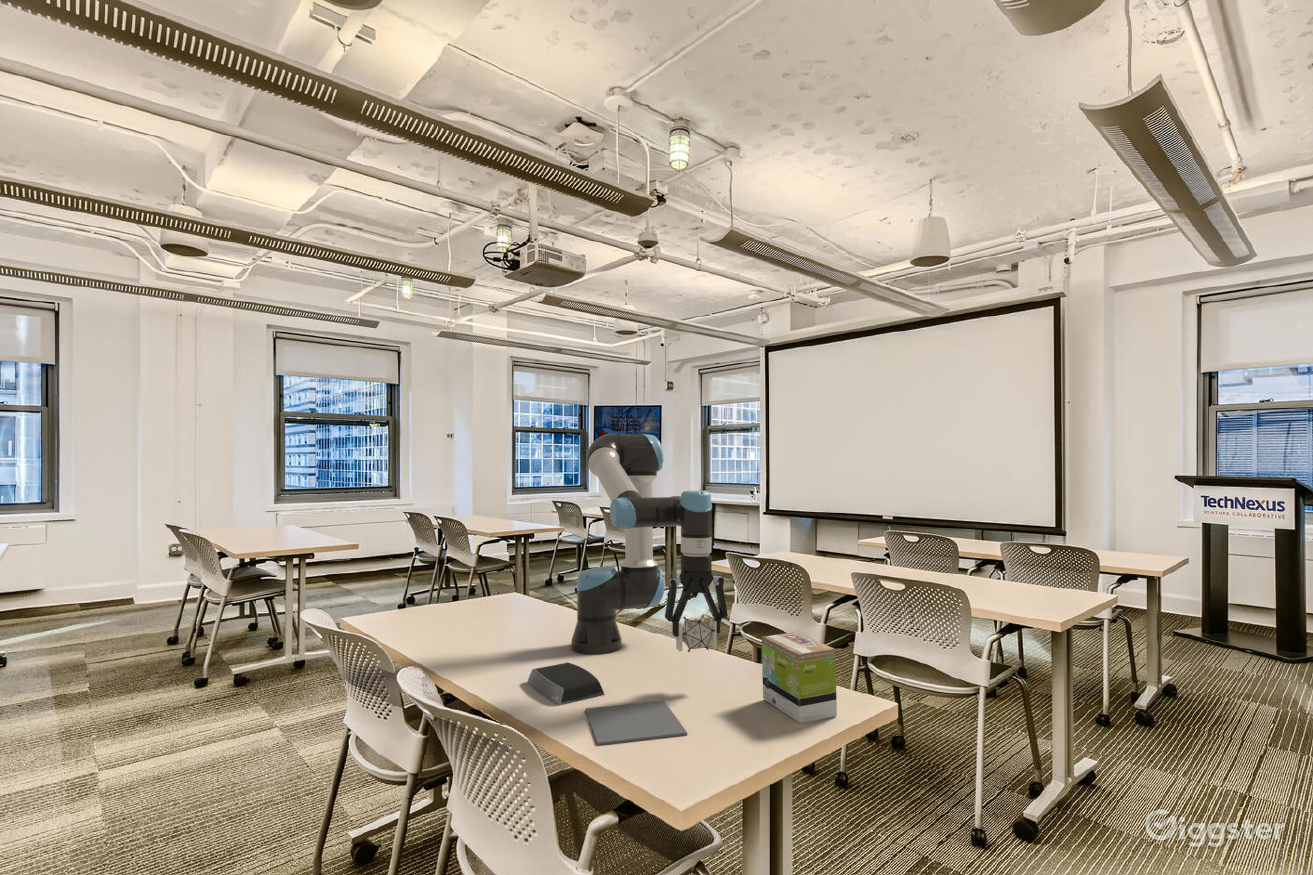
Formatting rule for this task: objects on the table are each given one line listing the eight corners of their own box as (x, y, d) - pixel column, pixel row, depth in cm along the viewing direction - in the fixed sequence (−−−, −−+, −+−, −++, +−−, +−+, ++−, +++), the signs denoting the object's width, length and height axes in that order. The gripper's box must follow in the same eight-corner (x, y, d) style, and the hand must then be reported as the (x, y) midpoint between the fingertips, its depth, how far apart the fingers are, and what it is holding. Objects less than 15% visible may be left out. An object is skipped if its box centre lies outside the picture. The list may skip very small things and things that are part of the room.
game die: (702, 667, 148) (710, 640, 142) (669, 652, 150) (676, 626, 144) (713, 639, 155) (722, 613, 149) (682, 626, 157) (689, 600, 151)
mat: (585, 710, 136) (585, 708, 136) (663, 702, 140) (663, 700, 140) (597, 745, 118) (597, 742, 118) (687, 735, 123) (687, 732, 123)
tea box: (761, 700, 141) (760, 635, 142) (797, 694, 145) (796, 630, 146) (799, 724, 127) (797, 652, 128) (838, 717, 131) (837, 647, 132)
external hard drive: (556, 708, 138) (556, 690, 139) (524, 684, 155) (524, 667, 155) (607, 696, 146) (607, 679, 146) (571, 674, 162) (572, 658, 162)
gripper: (658, 558, 144) (658, 656, 143) (741, 554, 149) (742, 649, 148) (651, 553, 151) (651, 647, 150) (730, 550, 156) (731, 641, 155)
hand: (696, 648), depth 149 cm, fingers closed on game die, 8 cm apart
